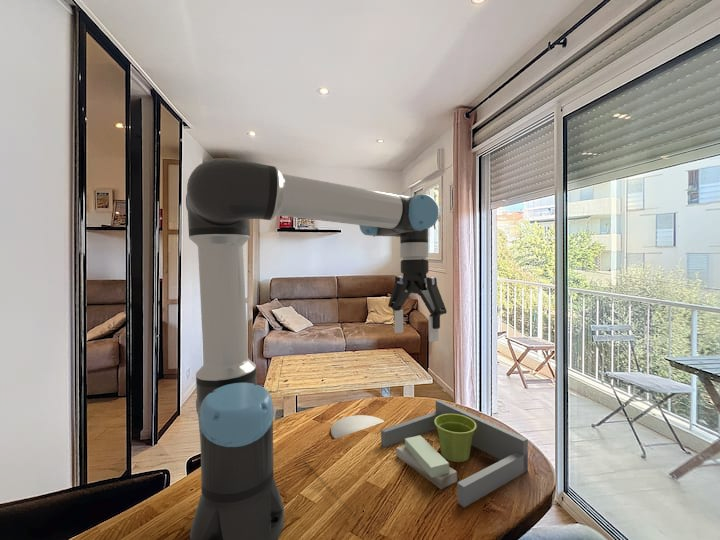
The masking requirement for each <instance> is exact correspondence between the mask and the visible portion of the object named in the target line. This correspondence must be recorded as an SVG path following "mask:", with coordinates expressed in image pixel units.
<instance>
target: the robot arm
mask: <svg viewBox="0 0 720 540" xmlns="http://www.w3.org/2000/svg"><path fill="white" fill-rule="evenodd" d="M185 208H186V211H187V224H188V225H187V227H188V238H189V240H190V241H192V243H194V244H195V245H196V246H197V251H198V253H197V256H198V258H197V259H198V271H199V272H198V274H199V295H200V313H201V332H202V333H201V335H202V337H201V338H202V356H203V363H202V366H201V367H200V368H199V369H198V371H196V372H195V385H196V399H195V407H196V414H197V418H198V428H199V440H200V479H201V480H200V481H201V483H200V484H201V485H200V486H201V487H200V488H201V494H200V497H199V500H198V503H197V506H196V509H195V513H194V516H193V519H192V523H191V526H190V533H189V540H278V539H279V537H280V536H281V535H282V532H283V530H284V527H285V526H284V525H285V506H284V502H283V498H282V495H281V494H280V490H279V488H278V486H277V482H276V480H275V476H274V417H275V415H274V414H275V413H274V411H275V410H274V405H273V400H272V399H273V398H272V395H271V393H270V392H269V390H268V389H267V388H265V387H264V386H263V385H260V384H258V380H257V379H258V378H257V365H256V363H255V362H253V361H252V360H251V359H250V358H249V353H248V352H249V349H248V348H249V347H248V329H247V307H246V306H247V305H246V303H247V302H246V286H245V284H246V283H245V282H246V281H245V264H244V263H245V262H244V259H245V258H244V245H245V244H246V243H247V242H248V241H249V240H250V239H251V229H250V226H251V225H250V220H266V221H272V220H273V219H276V217H277V216H278V217H279V216H280V217H286V218H287V217H289V218H296V219H297V218H298V219H306V220H314V221H320V222H321V221H322V222H330V223H340V224H348V225H356V226H358V227H359V230H360V231H361V233H362V234H363V235H365V236H370V237H371V236H372V237H374V238H375V237H396V238H399V239H400V241H399V242H400V243H399V244H400V245H399V246H400V247H399V248H400V249H399V251H400V256H399V257H400V258H401V259H402V260H401V261H400V273H401V274H402V275H399V276H398V275H397V276H395V277H394V285H393V288H392V292H391V294H390V298H389V301H388V303H387V306H388V308H391V309H392V310H393V322H394V334H401V333H403V334H404V310H403V309H404V308H403V306H404V304H405V303H406V301H407V300H408V298H409V297H410V294H417V295H418V296H420V298H421V300H422V301H423V304H424V305H425V307H426V308H427V310H428V312H429V315H428V342H430V343H432V342H433V343H434V342H438V341H439V329H440V328H441V316H442V315H445V314H447V313H448V311H447V308H446V306H445V303H444V300H443V298H442V295H441V293H440V290H439V288H438V282H437V277H435V276H431V277H430V276H428V277H427V274H428V273H429V268H430V266H429V260H428V259H427V258H428V257H429V229H430V228H432V227H433V226H434V225H435V224H436V223H437V221H438V219H439V214H440V213H439V206H438V202H437V201H436V199H435V198H434V197H432V196H431V195H429V194H426V193H422V194H415V195H413V196H408V195H401V194H395V193H388V192H384V191H378V190H373V189H367V188H362V187H356V186H351V185H345V184H340V183H335V182H329V181H323V180H317V179H313V178H307V177H302V176H295V175H290V174H284V173H281V171H280V170H279V169H278V167H277V166H275V165H274V166H273V165H269V164H263V163H257V162H253V161H248V160H247V161H246V160H243V159H235V158H228V157H223V158H222V157H221V158H220V157H219V158H212V159H208V160H206V161H203V162H202V163H200V164H198V165H197V166H196V167H195V168H194V170H192V172H191V174H190V175H189V178H188V179H187V185H186V195H185Z"/></svg>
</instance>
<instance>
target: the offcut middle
mask: <svg viewBox="0 0 720 540" xmlns="http://www.w3.org/2000/svg"><path fill="white" fill-rule="evenodd" d="M395 451H396V457H398V458H399V459H400V460H402V461H403V462H404V463H405V464H407V465H408V466H409V467H410V468H412V469H413V470H414V471H416V472H417V473H418V474H420V475H421V476H422V477H424V478H425V479H427V480H428V481H429V482H430V483H432V484H433V485H434V486H436V488H438V489H439V490H443V489H445V488H447V487H449V486H452V485H453V484H454V483H458V472H457V470H455V469H454V468H452V467H450V466H449V473H447V474H444V475H440V476H436V477H431V476H430V475H429V474H428V473H427V472H426V471H425V469H424V468H423V467H422V466H421V465H420V464H419V462H418V461H417V460H416V459H415V458H414V457H413V455H412V454H411V453H410V452H409V451H408V450H407V449H406V447H405V444H402V445H400V446H397V447H396V449H395Z"/></svg>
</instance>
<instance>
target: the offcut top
mask: <svg viewBox="0 0 720 540" xmlns="http://www.w3.org/2000/svg"><path fill="white" fill-rule="evenodd" d="M404 445H405V447H406V449H407V450H408V451H409V452H410V453H411V454H412V455H413V457H414V458H415V459H416V460H417V461H418V462H419V464H420V465H421V466H422V467H423V468H424V469H425V471H426V472H427V473H428V474H429V475H430V476H431V477H436V476H440V475H444V474H447V473H449V467H450V462H449V461H447V459H446V458H444V457H443V456H442V454H441V453H439V452H438V451H437V450H436V449H435V448H434V447H433V446H432V445H431V444H430V443H429V442H428V441H427V440H426V439H425V438H424V437H422V434H421V435H418V436H414V437H410V438H405V440H404Z"/></svg>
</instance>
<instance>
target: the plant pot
mask: <svg viewBox="0 0 720 540" xmlns="http://www.w3.org/2000/svg"><path fill="white" fill-rule="evenodd" d="M434 422H435V425H436V426H437V429H436V430H437V433H438V440H439V446H440V447H439V448H440V455H441V456H442V457H443V458H444V459H445V460H446V461H447V460H448V461H450V462H454V463H455V462H456V463H463V462H466V461H469V459H470V455H471V449H472V445H471V443H472V436H473V434H474V431H475V430H476V423H475V422H474V421H473V420H472V419H470V418H468V417H466V416H463V415H459V414H443V415H439V416H438V417H436V418H435V420H434Z"/></svg>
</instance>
